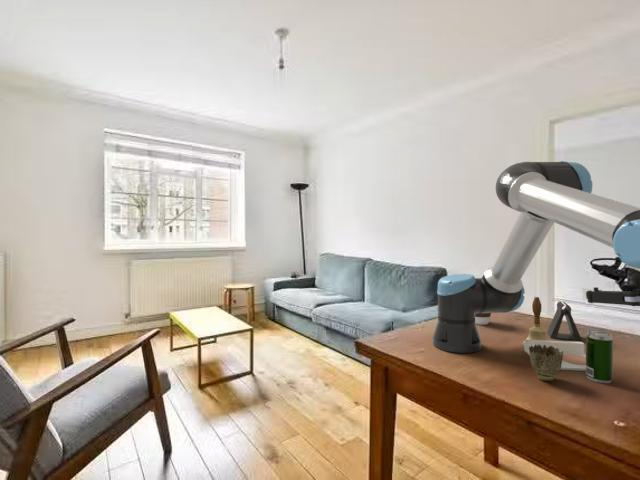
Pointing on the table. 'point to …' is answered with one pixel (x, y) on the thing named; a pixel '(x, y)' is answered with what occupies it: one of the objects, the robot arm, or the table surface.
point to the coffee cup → (482, 318)
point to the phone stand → (557, 322)
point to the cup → (545, 361)
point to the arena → (564, 352)
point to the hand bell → (536, 323)
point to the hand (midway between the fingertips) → (615, 293)
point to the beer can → (599, 356)
